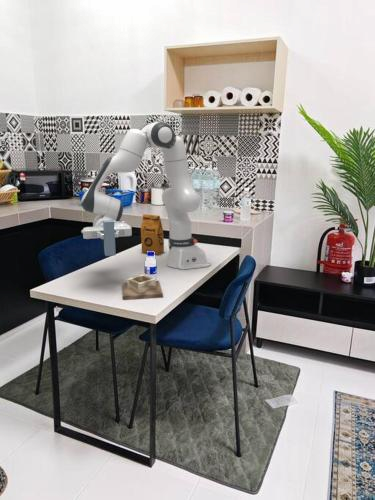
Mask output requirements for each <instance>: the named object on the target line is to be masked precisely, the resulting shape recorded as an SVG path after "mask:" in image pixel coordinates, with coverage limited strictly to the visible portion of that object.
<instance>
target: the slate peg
mask: <svg viewBox="0 0 375 500" xmlns="http://www.w3.org/2000/svg"><path fill="white" fill-rule="evenodd" d="M103 231H104V237H105V238H104V239H103V248H104V249H103V250H104V255H105V257H111V256H116V238H115V228H114V221H113V220H103Z"/></svg>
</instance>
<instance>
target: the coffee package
mask: <svg viewBox="0 0 375 500" xmlns="http://www.w3.org/2000/svg"><path fill="white" fill-rule="evenodd" d="M140 239H141V241H140V242H141V253H145V254H148V253H147V251H154V252H155V254H154V256H155V255H156V256H159V255H162V254H164V253H165V249H164V248H165V245H164V244H165V239H164V229H163V225H162V220H161V216H160V215H158V214H157V215H156V214H155V215H154V214H145V213H143V215H142V222H141V226H140Z"/></svg>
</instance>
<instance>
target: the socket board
mask: <svg viewBox="0 0 375 500" xmlns="http://www.w3.org/2000/svg"><path fill="white" fill-rule="evenodd" d="M126 281H127V282H122V285H121V287H122V301H125V300H126V301H127V300H141V299H158V298H164V293H163V289H162V286H161V284H160V280H157V279H156V278H154V277H152V276H149V275H145V274H141V275H137V276H133V277H130V278H127V279H126Z"/></svg>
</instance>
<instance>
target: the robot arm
mask: <svg viewBox="0 0 375 500" xmlns="http://www.w3.org/2000/svg"><path fill="white" fill-rule="evenodd" d="M118 148H119V149H118V150H117V152H116V154H114V155H113V156H111V157H108V158H107V159H106V160H105V161H104V162H103V164H102V165H101V167H100V169H99V170H98V172H97V173H96V175H95V177H94V179H93V180H92V182H91V184H90V186H89V187H88V188H87V190H86V191H85V193H84V194H83V195H82V198H81V201H80V204H81V207H82V209H83V210H84V211H85V212H88V213H92V214H96V216H95V218H94V219H93V222H92V226H86V227H83V229H81V231H80V232H81V234H82V236H83V237H82V238H83V239H84V240H85V239H86V240H90V239H101V240H104V238H105V237H104V231H103V220H113V221H114V228H115V239H116V238H119V237H131V236H132V235H133V233H132V232H133V231H132V229H133V228H132V226H130V224H128V223H126V221H125V220H121V218H122V215H123V212H124V205H123V202H122V201H121V200H120V199H118V198H115V197H113V196H110V195H109V194H108V195H107V194H105V193H103V192H100V189H101V187H102V186H103V184H104V182H105V180H106V179H107V177H108V176H109V175H111V174H115V173H118V174H119V173H121V174H122V173H126V174H127V173H133V172H135V171H136V170H137V169H138V168H139V167H140V165H141V163H142V160H143V158H144V154H145V152H146V150H147V149H148V148H156V149H157V148H159V149H160V150H161V151H162V155H163V162H164V164H163V165H164V169H165V171H164V172H165V177H166V179H167V180H168V183H169V185H170V187H168V188H165V189H164V191H163V192H162V194H161V201H162V203H163V204H164V206H165V207H164V208H165V210H166V215H167V219H168V226H169V228H168V230H169V236H168V243H167V244H168V249H169V250H168V256H167V257H168V258H167V262H166V266H168V267H170V268H174V269H179V270H182V271H183V270H193V269H199V268H200V269H201V268H207V267H208V268H209V267H210V266H211V261H210V260H209V259H208V258H207V255H206V253H205V251H204V250H203V249H202V248H201V247H199V245H197V243H198V240H197V239H196V238H194V237H193V236H192V221H191V219H190V218H189V216H188V213H193V212H195V211H196V210H198V208H199V207H200V203H201V199H200V198H201V197H200V195H199V194H198V193H197V192H196V190H195V188H194V184H193V183H192V179H191V176H190V172H189V171H190V170H189V165H188V156H187V151H186V145H185V142H184V139H183V138H182V137H181V136H179V135H177V134H176V133H175V131H174V129H173V128H172V126H171V125H170V124H169V123H166V122H162V121H159V122H158V121H156V122H152V123H147V124H145V125H143V126H142V127H141V128H140V129H138V128H131V129H129V130H128V131H127V132H126V134H124V137H123V139H122V141H121V143H120V146H119V147H118Z"/></svg>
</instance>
